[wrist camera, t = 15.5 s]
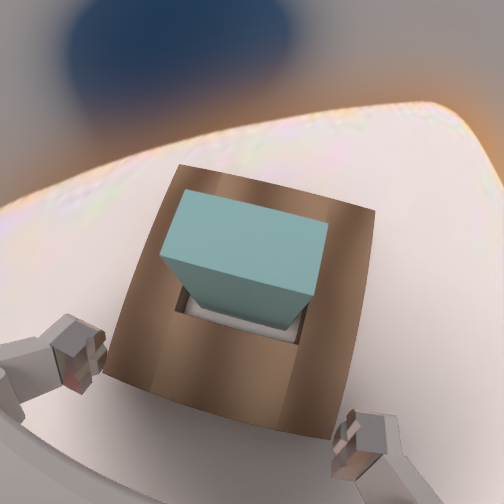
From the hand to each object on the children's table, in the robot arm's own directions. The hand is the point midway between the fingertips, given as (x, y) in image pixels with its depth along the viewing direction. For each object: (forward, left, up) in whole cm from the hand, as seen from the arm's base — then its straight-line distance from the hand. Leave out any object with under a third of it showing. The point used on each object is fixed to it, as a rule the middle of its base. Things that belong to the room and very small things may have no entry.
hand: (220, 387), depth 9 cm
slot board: (+1, -5, -12) cm, 14 cm away
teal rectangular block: (+1, -5, -12) cm, 14 cm away
